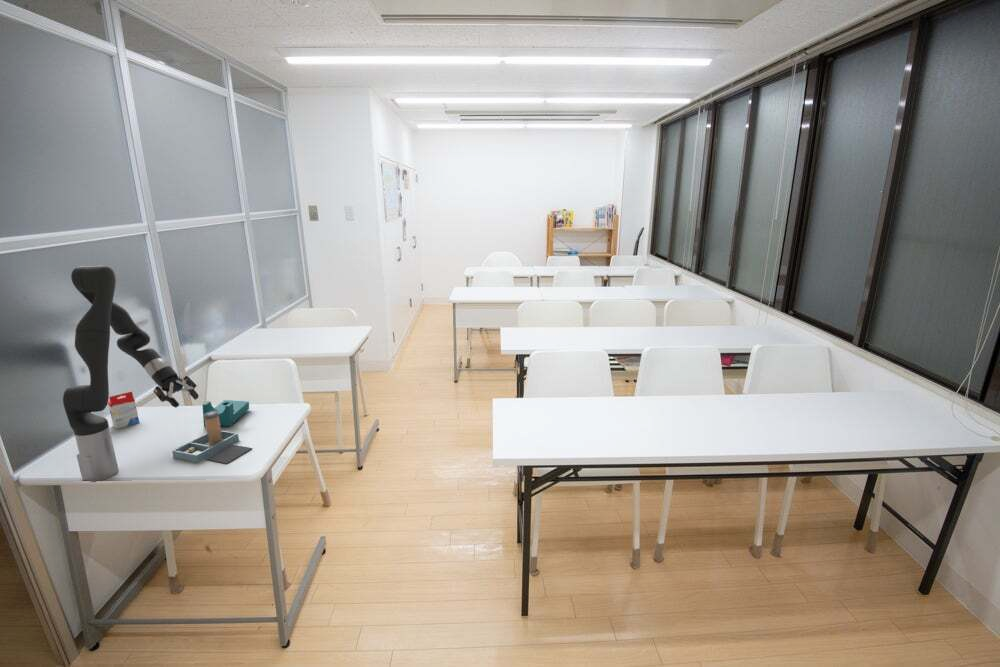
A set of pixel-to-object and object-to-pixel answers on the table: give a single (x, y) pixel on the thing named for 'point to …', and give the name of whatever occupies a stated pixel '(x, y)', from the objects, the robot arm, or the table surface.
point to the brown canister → (213, 427)
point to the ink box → (123, 410)
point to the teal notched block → (227, 410)
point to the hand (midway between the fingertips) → (187, 402)
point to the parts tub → (203, 447)
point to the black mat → (228, 454)
